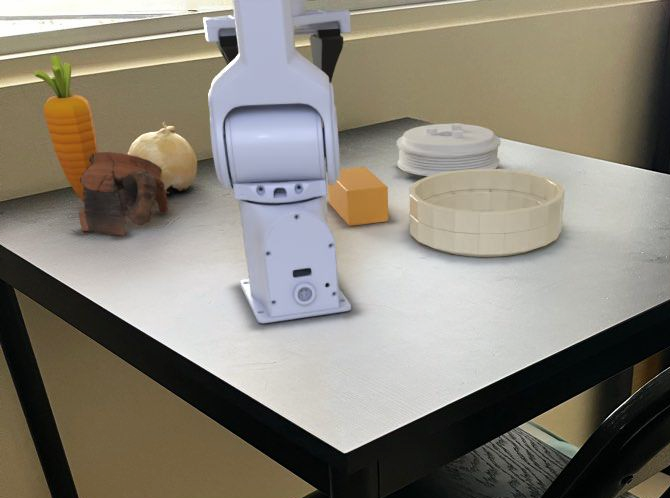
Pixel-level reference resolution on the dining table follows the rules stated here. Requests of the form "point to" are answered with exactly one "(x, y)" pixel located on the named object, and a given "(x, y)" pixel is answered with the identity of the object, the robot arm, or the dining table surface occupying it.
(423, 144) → the lid
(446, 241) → the bowl
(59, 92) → the carrot
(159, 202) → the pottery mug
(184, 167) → the onion
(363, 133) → the dining table surface
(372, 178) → the orange rectangular block
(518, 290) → the dining table surface
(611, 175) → the dining table surface
